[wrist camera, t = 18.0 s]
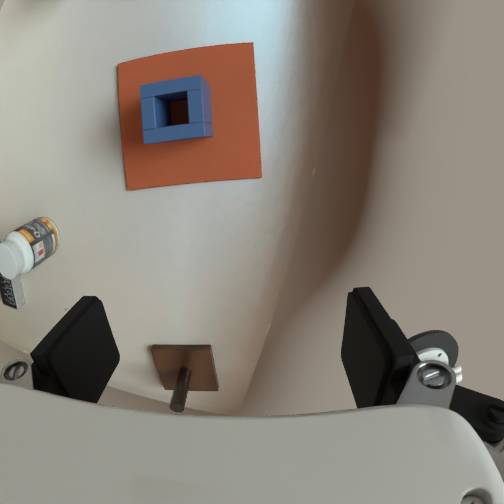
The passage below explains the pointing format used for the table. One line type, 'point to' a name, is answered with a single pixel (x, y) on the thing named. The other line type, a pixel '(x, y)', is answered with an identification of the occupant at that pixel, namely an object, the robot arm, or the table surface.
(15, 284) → the multiport hub
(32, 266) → the pill bottle
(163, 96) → the blue block
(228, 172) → the mat
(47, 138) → the table surface
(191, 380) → the dowel stand
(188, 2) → the table surface
